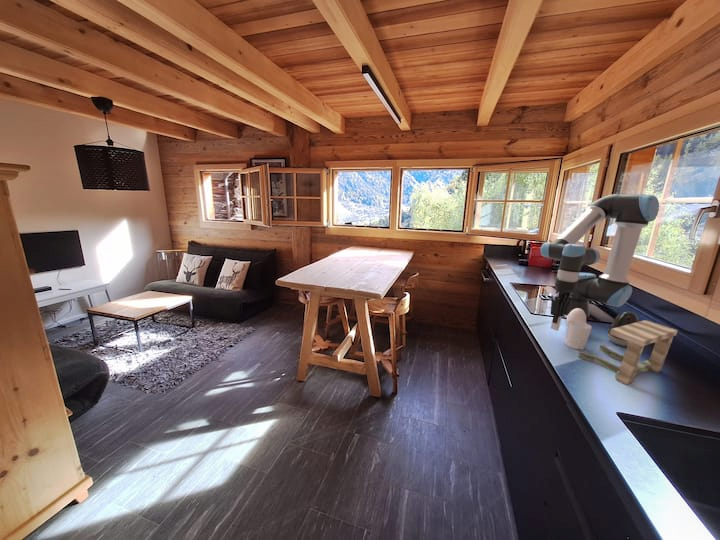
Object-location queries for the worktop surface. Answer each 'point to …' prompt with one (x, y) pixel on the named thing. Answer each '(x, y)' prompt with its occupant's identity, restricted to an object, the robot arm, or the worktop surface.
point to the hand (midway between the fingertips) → (554, 329)
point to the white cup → (577, 334)
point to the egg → (576, 316)
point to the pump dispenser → (620, 321)
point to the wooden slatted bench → (636, 349)
